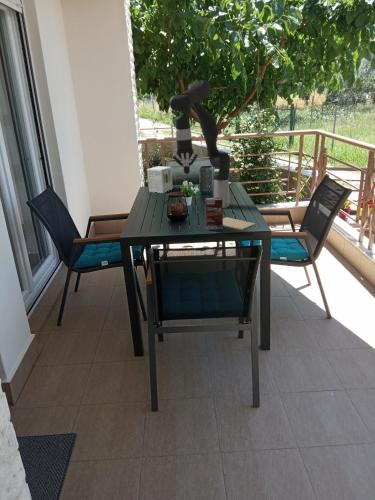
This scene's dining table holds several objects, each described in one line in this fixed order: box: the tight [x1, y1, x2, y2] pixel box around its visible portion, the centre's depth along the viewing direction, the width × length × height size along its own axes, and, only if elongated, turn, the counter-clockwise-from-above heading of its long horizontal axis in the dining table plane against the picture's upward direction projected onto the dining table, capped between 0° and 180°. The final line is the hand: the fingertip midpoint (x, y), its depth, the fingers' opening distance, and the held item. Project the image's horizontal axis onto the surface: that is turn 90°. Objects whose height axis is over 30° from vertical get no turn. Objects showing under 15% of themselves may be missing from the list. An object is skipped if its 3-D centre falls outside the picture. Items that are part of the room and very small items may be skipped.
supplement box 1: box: [147, 165, 174, 194], centre depth 293 cm, size 13×13×18 cm
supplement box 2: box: [205, 197, 224, 231], centre depth 202 cm, size 9×5×16 cm, turn 92°
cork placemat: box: [223, 216, 256, 231], centre depth 210 cm, size 12×20×1 cm, turn 44°
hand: (187, 173), depth 198 cm, fingers closed
